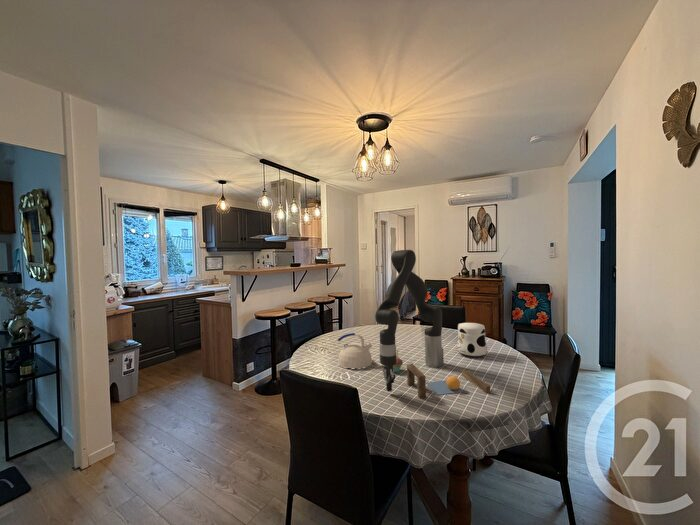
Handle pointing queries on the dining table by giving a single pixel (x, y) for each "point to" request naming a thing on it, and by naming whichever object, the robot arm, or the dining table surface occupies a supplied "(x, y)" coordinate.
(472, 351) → the milk container
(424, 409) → the dining table surface
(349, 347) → the kettle
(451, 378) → the ball
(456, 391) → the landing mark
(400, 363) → the cupcake
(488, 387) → the wall
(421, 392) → the bridge
